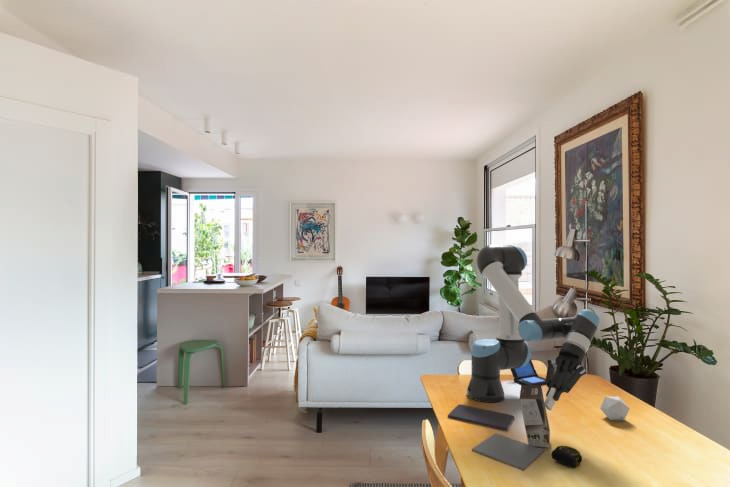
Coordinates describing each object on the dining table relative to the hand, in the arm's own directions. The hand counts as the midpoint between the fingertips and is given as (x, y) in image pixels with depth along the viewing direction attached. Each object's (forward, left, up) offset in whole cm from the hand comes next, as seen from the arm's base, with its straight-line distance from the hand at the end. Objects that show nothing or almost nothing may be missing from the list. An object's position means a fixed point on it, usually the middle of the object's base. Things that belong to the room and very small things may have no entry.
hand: (547, 407), depth 129 cm
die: (+10, +38, -12) cm, 41 cm away
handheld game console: (-30, +60, -12) cm, 68 cm away
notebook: (-25, +3, -12) cm, 28 cm away
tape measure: (+9, -9, -12) cm, 17 cm away
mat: (-7, -14, -11) cm, 19 cm away
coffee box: (-2, -1, -10) cm, 10 cm away
